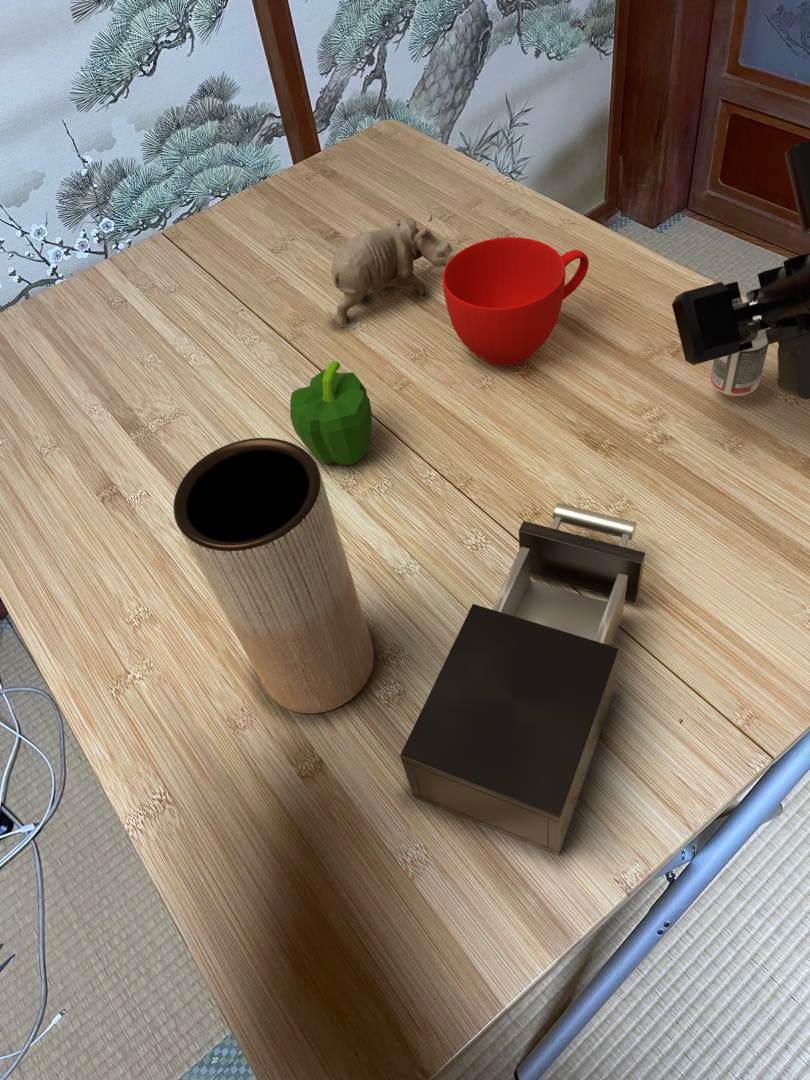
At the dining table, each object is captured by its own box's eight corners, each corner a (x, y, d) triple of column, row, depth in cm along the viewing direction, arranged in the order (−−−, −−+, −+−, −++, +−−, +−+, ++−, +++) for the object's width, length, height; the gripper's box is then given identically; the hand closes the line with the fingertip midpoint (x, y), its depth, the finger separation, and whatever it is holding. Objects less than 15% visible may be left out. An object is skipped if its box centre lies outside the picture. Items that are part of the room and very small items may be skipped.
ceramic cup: (616, 343, 94) (623, 265, 86) (484, 400, 91) (478, 325, 83) (554, 287, 101) (555, 211, 94) (431, 338, 98) (421, 263, 91)
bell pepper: (341, 490, 85) (320, 418, 77) (289, 455, 89) (265, 384, 81) (398, 443, 88) (384, 369, 80) (345, 411, 92) (327, 338, 85)
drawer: (540, 526, 78) (540, 484, 73) (652, 555, 74) (659, 513, 70) (472, 675, 69) (467, 638, 64) (596, 717, 65) (600, 681, 61)
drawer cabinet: (478, 653, 71) (472, 603, 65) (612, 696, 67) (619, 647, 61) (412, 797, 64) (399, 755, 58) (558, 855, 60) (560, 817, 54)
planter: (354, 725, 68) (288, 559, 51) (244, 703, 71) (145, 537, 54) (388, 624, 74) (340, 443, 57) (285, 607, 77) (208, 428, 59)
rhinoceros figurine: (299, 284, 104) (351, 177, 95) (391, 309, 112) (447, 211, 103) (315, 324, 100) (371, 215, 91) (409, 346, 108) (469, 248, 98)
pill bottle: (764, 373, 85) (782, 304, 79) (751, 402, 83) (767, 333, 77) (718, 362, 87) (731, 294, 81) (703, 390, 85) (715, 322, 78)
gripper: (746, 414, 66) (667, 427, 81) (964, 352, 67) (845, 377, 82) (712, 274, 65) (639, 314, 80) (934, 214, 66) (820, 265, 81)
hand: (738, 321), depth 81 cm, fingers closed on pill bottle, 4 cm apart
